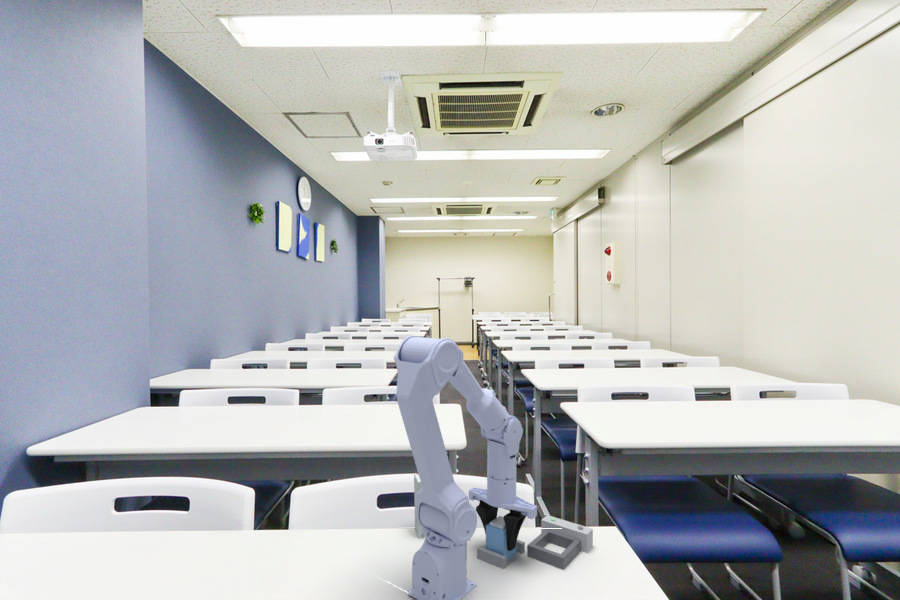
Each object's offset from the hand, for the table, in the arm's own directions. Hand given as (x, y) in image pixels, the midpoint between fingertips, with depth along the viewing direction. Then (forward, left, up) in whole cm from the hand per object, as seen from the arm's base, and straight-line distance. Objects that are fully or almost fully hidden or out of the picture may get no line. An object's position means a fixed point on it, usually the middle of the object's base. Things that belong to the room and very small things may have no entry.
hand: (501, 544), depth 90 cm
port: (+8, -8, -2) cm, 12 cm away
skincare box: (-2, +18, -2) cm, 18 cm away
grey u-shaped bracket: (0, 0, -2) cm, 2 cm away
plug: (0, 0, -2) cm, 2 cm away
